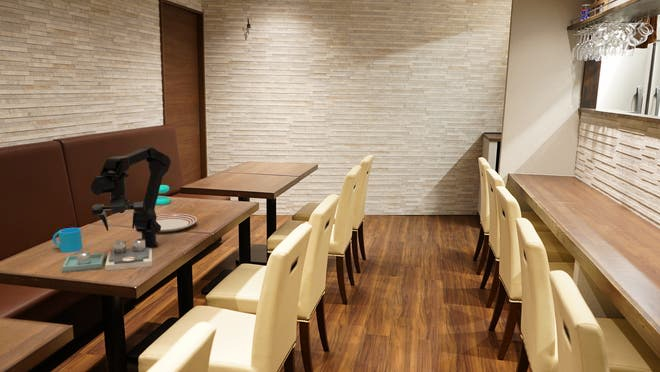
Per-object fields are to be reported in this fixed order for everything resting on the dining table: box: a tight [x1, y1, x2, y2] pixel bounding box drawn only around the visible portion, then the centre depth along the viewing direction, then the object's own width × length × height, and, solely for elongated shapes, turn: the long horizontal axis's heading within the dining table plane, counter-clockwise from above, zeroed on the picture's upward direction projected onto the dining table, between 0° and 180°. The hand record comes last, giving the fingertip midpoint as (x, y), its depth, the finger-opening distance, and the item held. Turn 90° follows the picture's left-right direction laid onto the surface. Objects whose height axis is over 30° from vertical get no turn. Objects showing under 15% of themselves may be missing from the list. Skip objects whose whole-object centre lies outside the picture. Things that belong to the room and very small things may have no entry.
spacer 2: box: [113, 239, 127, 254], centre depth 206 cm, size 4×4×4 cm
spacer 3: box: [132, 238, 146, 252], centre depth 208 cm, size 4×4×4 cm
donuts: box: [155, 184, 171, 206], centre depth 301 cm, size 10×10×10 cm
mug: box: [52, 227, 83, 254], centre depth 218 cm, size 12×8×8 cm
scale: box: [104, 247, 153, 272], centre depth 203 cm, size 17×16×4 cm
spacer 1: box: [76, 250, 92, 265], centre depth 199 cm, size 4×4×4 cm
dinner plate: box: [156, 213, 198, 233], centre depth 253 cm, size 27×27×3 cm
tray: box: [61, 252, 106, 273], centre depth 199 cm, size 13×13×2 cm
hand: (120, 229), depth 207 cm, fingers open, 9 cm apart
